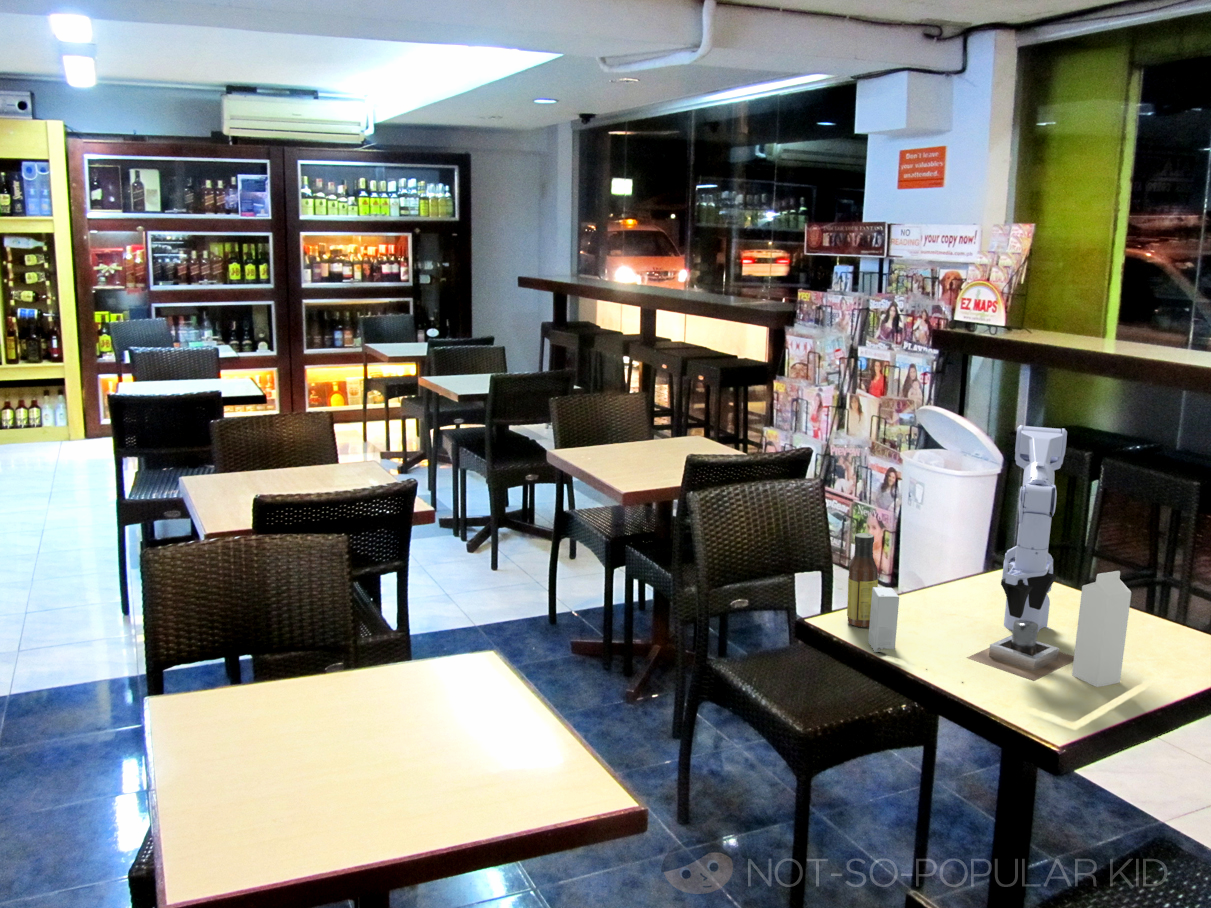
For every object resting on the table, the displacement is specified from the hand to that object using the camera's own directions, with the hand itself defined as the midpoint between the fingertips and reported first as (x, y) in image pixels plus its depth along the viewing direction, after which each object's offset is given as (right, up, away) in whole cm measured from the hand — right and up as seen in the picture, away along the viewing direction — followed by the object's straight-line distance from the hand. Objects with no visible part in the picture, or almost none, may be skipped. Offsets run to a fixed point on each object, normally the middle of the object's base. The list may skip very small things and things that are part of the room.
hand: (1025, 612), depth 207 cm
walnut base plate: (0, -10, +2) cm, 10 cm away
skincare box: (-26, -9, +8) cm, 29 cm away
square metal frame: (0, -9, +2) cm, 9 cm away
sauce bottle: (-27, -6, +21) cm, 35 cm away
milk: (+10, -13, -7) cm, 18 cm away
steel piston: (0, -9, +2) cm, 9 cm away
